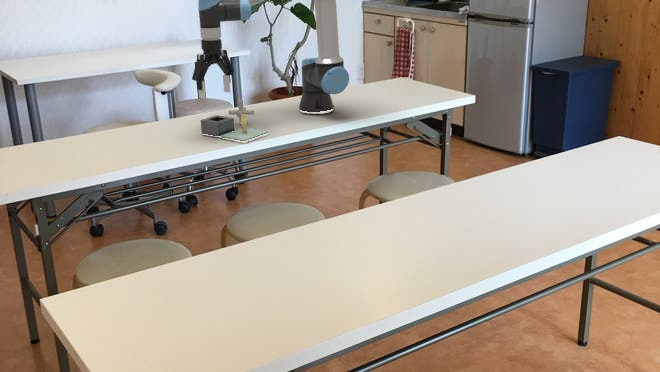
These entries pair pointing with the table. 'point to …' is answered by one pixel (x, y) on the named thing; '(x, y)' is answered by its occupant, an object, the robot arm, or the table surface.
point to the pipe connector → (241, 110)
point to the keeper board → (243, 136)
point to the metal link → (217, 125)
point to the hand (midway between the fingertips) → (215, 95)
